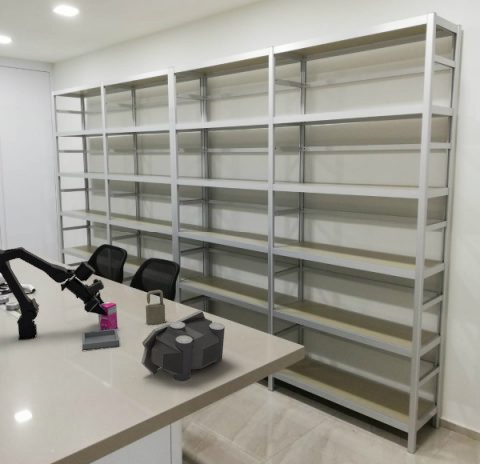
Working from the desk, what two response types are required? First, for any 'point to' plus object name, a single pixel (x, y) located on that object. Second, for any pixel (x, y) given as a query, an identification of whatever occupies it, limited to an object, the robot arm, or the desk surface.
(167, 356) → the electronic device
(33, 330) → the robot arm
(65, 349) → the desk surface
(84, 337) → the tray
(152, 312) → the padlock
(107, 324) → the supplement box
